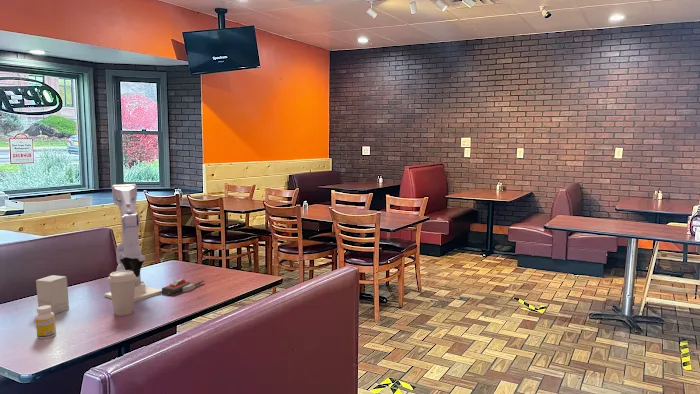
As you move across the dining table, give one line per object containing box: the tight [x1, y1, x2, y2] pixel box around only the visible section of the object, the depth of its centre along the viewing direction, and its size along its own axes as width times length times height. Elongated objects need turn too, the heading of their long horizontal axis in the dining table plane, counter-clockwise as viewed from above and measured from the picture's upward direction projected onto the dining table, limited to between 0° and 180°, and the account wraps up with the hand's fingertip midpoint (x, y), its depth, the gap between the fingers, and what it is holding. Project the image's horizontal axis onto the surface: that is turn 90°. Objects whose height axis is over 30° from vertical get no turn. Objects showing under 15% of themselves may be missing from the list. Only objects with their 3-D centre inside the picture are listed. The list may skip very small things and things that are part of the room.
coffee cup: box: [107, 270, 136, 317], centre depth 188 cm, size 10×10×15 cm
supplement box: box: [35, 274, 70, 315], centre depth 191 cm, size 7×7×13 cm
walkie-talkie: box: [161, 278, 205, 296], centre depth 218 cm, size 9×4×20 cm
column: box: [129, 269, 142, 287], centre depth 209 cm, size 4×4×7 cm
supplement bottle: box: [34, 305, 57, 340], centre depth 167 cm, size 5×5×10 cm
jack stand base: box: [103, 282, 163, 303], centre depth 210 cm, size 16×16×4 cm
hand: (133, 275), depth 209 cm, fingers closed on column, 4 cm apart
